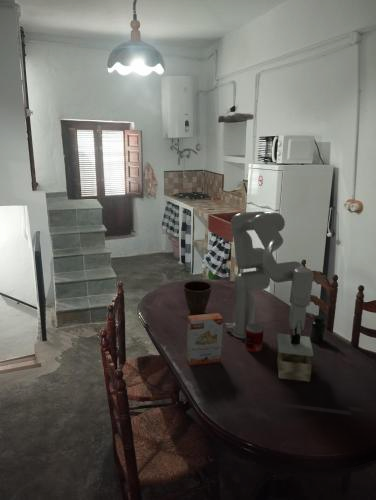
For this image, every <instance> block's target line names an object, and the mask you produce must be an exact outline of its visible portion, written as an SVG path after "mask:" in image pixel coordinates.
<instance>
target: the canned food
mask: <svg viewBox="0 0 376 500" xmlns="http://www.w3.org/2000/svg"><path fill="white" fill-rule="evenodd" d="M244 342H245V343H244V345H245V346H244V348H245V350H247V351H248V352H251V353H259V352H261V351H262V350H263V342H264V326H263V325H261V324H257V323H254V324H249V325H247V327H246V339H245V341H244Z"/></svg>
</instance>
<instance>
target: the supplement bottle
mask: <svg viewBox="0 0 376 500" xmlns="http://www.w3.org/2000/svg"><path fill="white" fill-rule="evenodd" d="M325 319H326V318H325V316H323V315H320V314H319V315H318V314H317V315H314V317H313V321H311V323H310V331H309V338H310V342H312V343H314V344H315V343H317V344H322V343H324V342H325V336H326V332H327V331H326V330H327V323H326V322H325V321H326V320H325Z"/></svg>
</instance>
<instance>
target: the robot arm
mask: <svg viewBox="0 0 376 500" xmlns="http://www.w3.org/2000/svg"><path fill="white" fill-rule="evenodd" d="M285 225H286V221H285V218H284V217H283V215H282V214H280V213H279V212H273V211H272V212H271V211H264V210H263V211H249V212H248V211H247V212H246V211H245V212H238V213H236V214H234V215H233V216H232V217H231V220H230V232H231V235H232V239H233V244H234V254H235V255H234V256H235V264H236V266H237V267H238V269H240V270H248V269H249V270H250V269H255V270H250V271H243V272H240V273H238V274H237V275H236V276H235V277H234V289H235V290H234V291H235V306H234V321H233V322H231V323H229V322H225V323H224V324H225V326H224V328H226V329H228V330H230V333H231V334H232V336H233V337H235V338H238V339H243V340H246V327H247V325H249V324H255V315H256V314H255V313H256V298H255V297H254V295H253V292H256V291H261V290H266V289H268V288H269V287H270V285H271V281H273V282H274V283H276V284H277V283H286V282H291V287H290V295H289V296H290V297H289V303H290V309H289V310H290V311H289V316H288V317H289V318H288V323H289V328H290V335H291V334H292V329H293V334H292V340H291V343H292V344H300V337H301V336H302V335H301V334H302V331H304V328H305V322H306V314H307V307H309V306H310V304H311V297H312V288H313V282H314V271H313V270H312V269H310V268H308V267H305V265H303V264H302V263H301V262H299V261H296V260H295V261H285V262H280V263H278V262H277V261H276V259H275V257H274V255H273V252H274V253H275V251H277V250H278V249H280V247H281V246H282V245H283V243H284V238H283V236H282V235H281V233H280V232H281V231H282V230H284V228H285ZM248 231H254V232H255V234H256V236H257V237H258V238H259V240H260V243H261V245H262V246H263V248H262V247H254V246H253V239H252V236H251V235H250V234H249V232H248ZM295 330H297V331H295ZM290 338H291V336H290Z"/></svg>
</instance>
